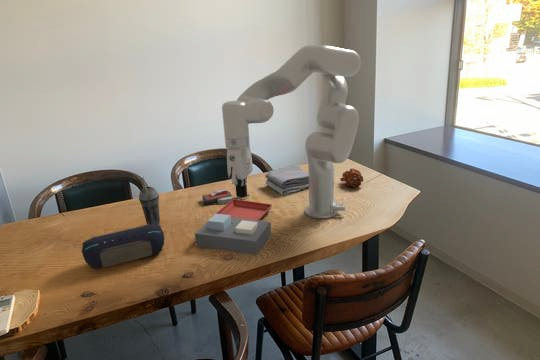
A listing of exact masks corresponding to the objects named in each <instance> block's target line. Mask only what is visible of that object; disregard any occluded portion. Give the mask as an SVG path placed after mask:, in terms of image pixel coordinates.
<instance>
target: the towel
mask: <svg viewBox="0 0 540 360" xmlns="http://www.w3.org/2000/svg"><path fill="white" fill-rule="evenodd" d="M265 178H266V181H265V184H266V186H268V187H269V188H271V189H272V190H274V191H276V192H277V193H279V194H280V195H284V196H285V195H289V194H292V193H295V192H298V191H302V190H303V189H307V188H308V189H309V172H307V171H305V170H303V169H302V168H301V167H300V166H299V165H298V164H296V163H295V164H293V165H288V166H285V167H281V168H277V169H273V170H269V171H268V172H267V173H266V174H265ZM301 189H302V190H301Z"/></svg>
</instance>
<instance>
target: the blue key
mask: <svg viewBox="0 0 540 360" xmlns="http://www.w3.org/2000/svg"><path fill="white" fill-rule="evenodd" d="M214 214H215V213H214ZM214 214H213V215H214ZM213 215H212V216H211V217H210V218H209V219H208V220H207V221H208V227H209V229H210V230H218V231H226V229H227V228H228V227H229V226H230V225H231V215H224V214H215V215H214V216H213Z"/></svg>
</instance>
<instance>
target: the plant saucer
mask: <svg viewBox="0 0 540 360" xmlns="http://www.w3.org/2000/svg"><path fill="white" fill-rule="evenodd" d="M272 207H273V204H272V203H271V204H270V203H264V202H258V201H251V200H250V201H249V200H243V199H233V200H231V201H230V202H229V203H226V204H224V206H222V208H220V209H219V210H218V211H217V212H215V213H214V214H213V215H212V216H214V215H215V214H224V215H231V217H232V218H241V219H250V220H259V221H261V219H262V218H264V217H265V215H267V214H268V213H269V211H270V210H271V209H272Z"/></svg>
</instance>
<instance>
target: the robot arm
mask: <svg viewBox="0 0 540 360" xmlns="http://www.w3.org/2000/svg"><path fill="white" fill-rule="evenodd" d="M361 59H362V58H361V56H360V54H358V53H357V51H354V50H353V49H352V50H351V49H345V48H343V47H342V48H340V47H336V46H331V45H326V44H325V45H323V44H319V45H318V44H308V45H304V46H302V47H301V48H300V49H298V50H297V51H296V52H295V53H294V54H292V56H291V57H290V58H288V59H287V60H286V62H285V63H283V65H281V66H280V67H279V68H278V69H277V70H275V71H274V72H272V73H270V74H268V75H267V76H264V77H263V78H261V79H259V80H258V81H255V82H254V83H253V84H251V85H250V86H249V87H247V88H246V89H245V90H244V91H243V92H242V93H240V95H239V97H238V98H237V99H236V100H230V101H229V100H228V101H226V102H223V104H222V106H221V107H222V108H221V111H222V121H223V122H222V123H223V124H222V125H223V131H224V133H223V134H224V143H225V148H226V165H227V167H226V168H227V176H228V179H229V180H231V184H232V185H234V186H235V194H236V196H235V197H244V198H247V197H246V196H247V195H248V186H247V183H248V177H249V175H250V174H251V173H252V172H253V170H254V167H253V165H254V164H253V159H252V157H253V156H252V151H251V146H250V145H251V143H250V132H249V131H250V130H249V129H250V128H249V124H250V125H251V124H263V123H266V122H269V121H270V120H271V119H272V118H273V115H274V106H273V104H272V103H271V102H270V101H269V100H270V99H273V98H275V97H279V96H284V95H287V94H289V93H292V92H295V91H296V90H297V89H298V88H299V87H300V86H301V85H302V84H303V83H304V82H305V81H306V80H307V79H308V78H309V77H310V76H312V74H314V73H318V74H319V73H320V75H321V76H322V80H323V85H324V86H323V87H324V88H323V93H322V97H321V100H320V104H319V108H318V112H317V115H316V123H317V125H318V126H320V127H321V128H323V129H326V130H330V131H334V132H333V134H332V133H329V132H325V131H313V132H311V133H310V134H309V135H307V137H306V140H305V143H304V145H305V146H304V148H305V154H306V158H307V164H308V166H307V167H308V173H309V187H308V205H306V207H304V208H305V209H304V210H305V214H306V215H307V216H309V217H311V218H314V219H324V220H325V219H329V218H332V217H335V216H337V215H338V212H339V211H340V212H345V211H346V205H344V203H337V199H335V165H334V164H342V163H344V162H345V161H347V160H348V158H349V156H350V154H351V151H352V148H353V145H354V141H355V138H356V134H357V131H358V127H359V123H360V116H359V113H358V110H357V109H356V108H355V107H354V106H352V105H350V104H349V105H348V104H346V101H347V97H348V92H349V89H348V83H347V80H346V78H345V77H347V78H350V77H353V76H356V75H357V73H359V71H360V69H361V66H362V60H361Z"/></svg>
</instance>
